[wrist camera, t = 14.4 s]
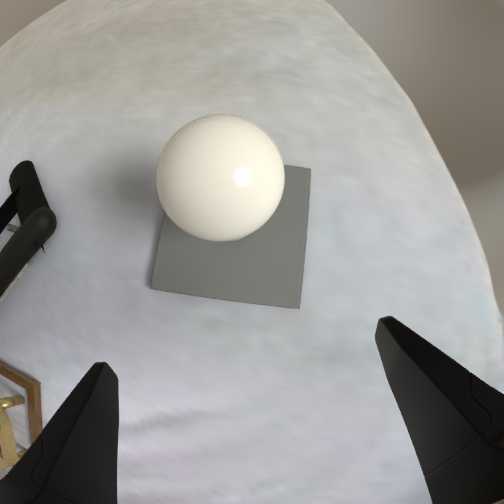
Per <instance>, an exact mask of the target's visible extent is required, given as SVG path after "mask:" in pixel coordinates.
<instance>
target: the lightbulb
mask: <svg viewBox="0 0 504 504" xmlns="http://www.w3.org/2000/svg"><path fill="white" fill-rule="evenodd" d="M284 184H285V170H284V164H283V160H282V157H281V154H280V152H279V150H278V148H277V146H276V144H275V143H274V141H273V140H272V138H271V137H270V136H269V135H268V134H267V133H266V132H265V131H264V130H263V129H262V128H261V127H259V126H258V125H256V124H255V123H253V122H251V121H249V120H247V119H245V118H242V117H238V116H234V115H228V114H215V115H208V116H204V117H201V118H198V119H195V120H193V121H191V122H189V123H188V124H186V125H184V126H183V127H182V128H180V129H179V130H178V131H177V132H176V133H175V134H174V135H173V136H172V137H171V138H170V139H169V141H168V142H167V143H166V145H165V147H164V148H163V150H162V153H161V155H160V158H159V161H158V164H157V170H156V187H157V193H158V197H159V200H160V202H161V205H162V207H163V209H164V211H165V212H166V214H167V215H168V217H169V218H170V219H171V220H172V221H173V222H174V223H175V224H176V225H177V226H178V227H179V228H180V229H182V230H183V231H185V232H186V233H188V234H190V235H192V236H194V237H197V238H199V239H203V240H207V241H214V242H225V241H238V240H241V239H243V238H244V237H246V236H247V235H249V234H251V233H253V232H255V231H256V230H258V229H259V228H260V227H262V226H263V225H264V224H265V223H266V222H267V221H268V220H269V219H270V218H271V216H272V215H273V213H274V212H275V210H276V209H277V207H278V205H279V203H280V200H281V198H282V194H283V190H284Z"/></svg>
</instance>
